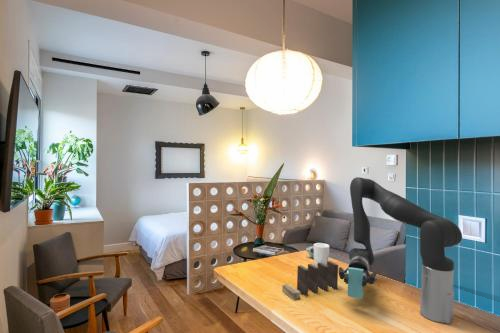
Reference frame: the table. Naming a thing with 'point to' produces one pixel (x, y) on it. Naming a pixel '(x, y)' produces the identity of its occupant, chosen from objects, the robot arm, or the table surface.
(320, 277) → the domino
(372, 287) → the table surface
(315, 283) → the domino
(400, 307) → the table surface
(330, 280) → the domino
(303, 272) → the domino
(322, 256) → the white cup
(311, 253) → the robot head
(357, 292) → the domino
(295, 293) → the end stop
